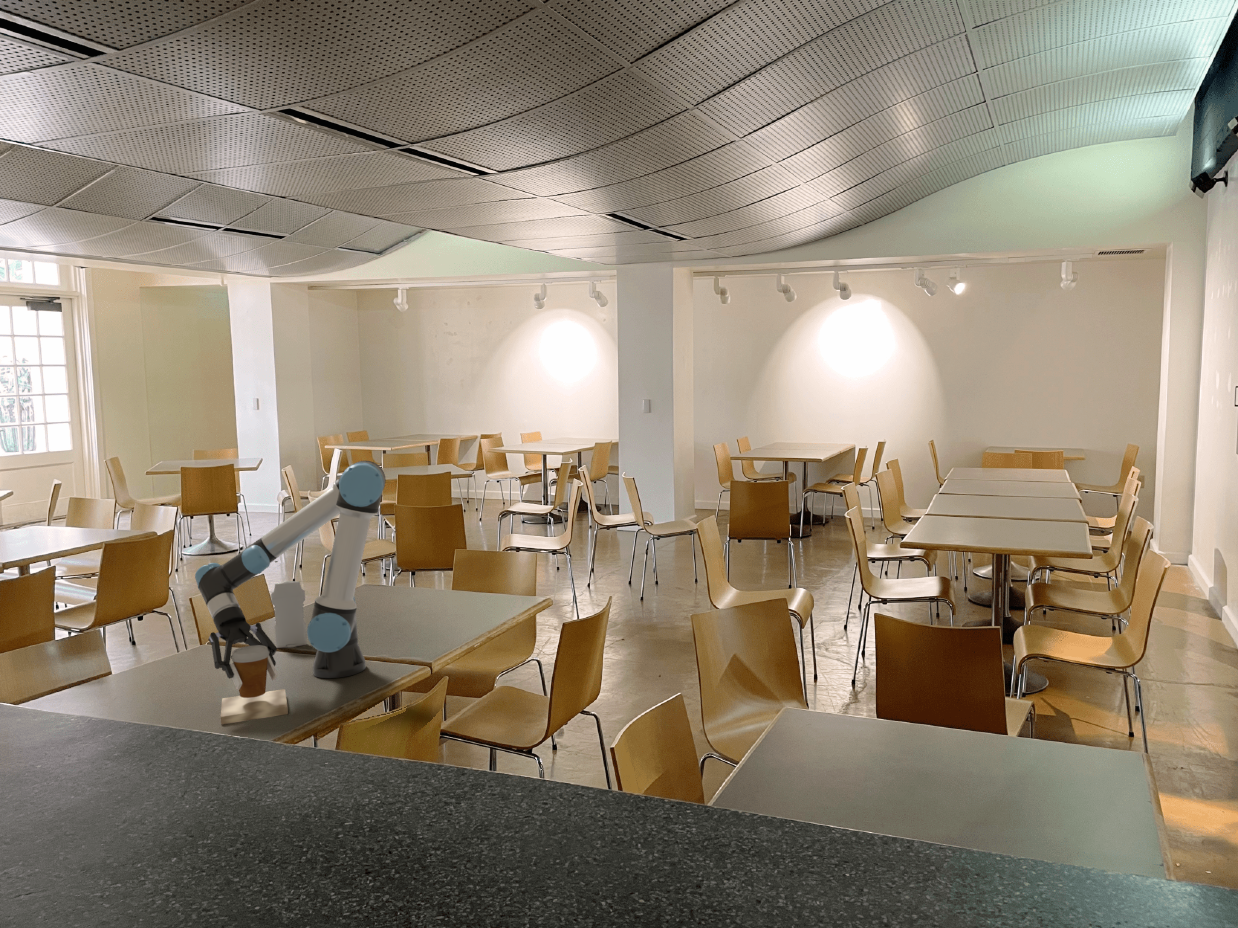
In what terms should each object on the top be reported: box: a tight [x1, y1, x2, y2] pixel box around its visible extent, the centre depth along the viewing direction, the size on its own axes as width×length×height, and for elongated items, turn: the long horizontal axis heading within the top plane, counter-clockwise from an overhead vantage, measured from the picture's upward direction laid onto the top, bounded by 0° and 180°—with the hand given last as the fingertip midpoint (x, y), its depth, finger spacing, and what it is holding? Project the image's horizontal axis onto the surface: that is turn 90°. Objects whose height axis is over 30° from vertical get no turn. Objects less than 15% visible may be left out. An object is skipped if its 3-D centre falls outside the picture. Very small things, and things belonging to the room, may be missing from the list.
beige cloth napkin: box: [220, 688, 289, 726], centre depth 243 cm, size 16×16×2 cm
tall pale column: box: [270, 580, 308, 649], centre depth 305 cm, size 11×4×22 cm, turn 108°
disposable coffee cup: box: [230, 645, 270, 698], centre depth 242 cm, size 10×10×12 cm
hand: (257, 681), depth 240 cm, fingers closed on disposable coffee cup, 9 cm apart
